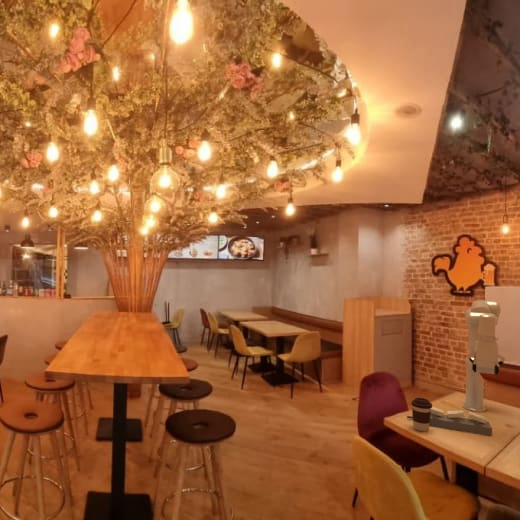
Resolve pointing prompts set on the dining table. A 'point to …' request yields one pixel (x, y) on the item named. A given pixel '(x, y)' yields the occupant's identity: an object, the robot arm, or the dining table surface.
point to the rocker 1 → (437, 411)
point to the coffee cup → (421, 414)
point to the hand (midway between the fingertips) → (485, 372)
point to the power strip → (460, 424)
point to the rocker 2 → (477, 417)
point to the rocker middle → (455, 414)
